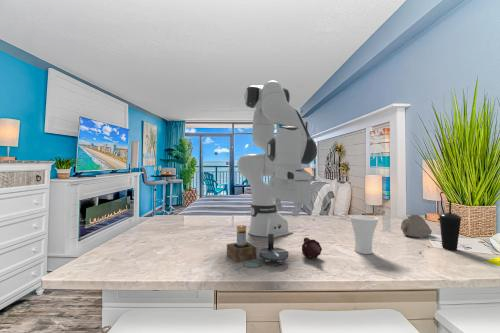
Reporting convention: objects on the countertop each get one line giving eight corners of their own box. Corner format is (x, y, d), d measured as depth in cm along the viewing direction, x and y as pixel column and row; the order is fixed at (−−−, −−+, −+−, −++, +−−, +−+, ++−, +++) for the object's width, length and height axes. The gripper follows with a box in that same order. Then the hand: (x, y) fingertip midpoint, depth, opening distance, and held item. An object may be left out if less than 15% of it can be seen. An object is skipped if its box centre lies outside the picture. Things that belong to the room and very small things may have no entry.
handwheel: (292, 259, 86) (293, 241, 86) (263, 261, 84) (263, 242, 84) (282, 250, 96) (283, 233, 96) (256, 251, 94) (256, 234, 94)
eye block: (246, 251, 100) (246, 241, 100) (256, 258, 93) (256, 247, 93) (226, 254, 97) (226, 244, 97) (235, 262, 90) (235, 250, 90)
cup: (355, 245, 110) (356, 213, 110) (382, 251, 103) (382, 217, 103) (344, 251, 103) (345, 217, 103) (372, 258, 95) (372, 221, 95)
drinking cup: (458, 247, 110) (458, 200, 110) (464, 252, 103) (464, 202, 103) (436, 245, 113) (437, 198, 113) (440, 250, 106) (441, 201, 106)
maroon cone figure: (332, 246, 88) (314, 237, 103) (311, 241, 88) (297, 233, 102) (327, 266, 88) (311, 255, 102) (307, 261, 87) (293, 251, 102)
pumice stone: (408, 238, 124) (408, 217, 124) (397, 233, 131) (397, 214, 131) (436, 237, 126) (436, 216, 126) (423, 233, 134) (424, 213, 134)
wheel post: (276, 257, 94) (276, 253, 94) (286, 263, 89) (286, 259, 89) (261, 260, 92) (262, 256, 92) (271, 266, 86) (271, 262, 86)
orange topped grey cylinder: (243, 254, 97) (243, 225, 97) (247, 257, 94) (247, 227, 94) (234, 255, 96) (235, 225, 96) (238, 258, 93) (239, 227, 93)
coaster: (255, 260, 91) (255, 259, 91) (263, 266, 86) (263, 264, 86) (241, 263, 89) (241, 261, 89) (248, 268, 84) (248, 267, 84)
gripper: (264, 171, 97) (263, 208, 97) (299, 175, 79) (298, 220, 79) (278, 171, 100) (277, 207, 100) (315, 174, 82) (314, 218, 82)
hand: (287, 213), depth 90 cm, fingers open, 8 cm apart
